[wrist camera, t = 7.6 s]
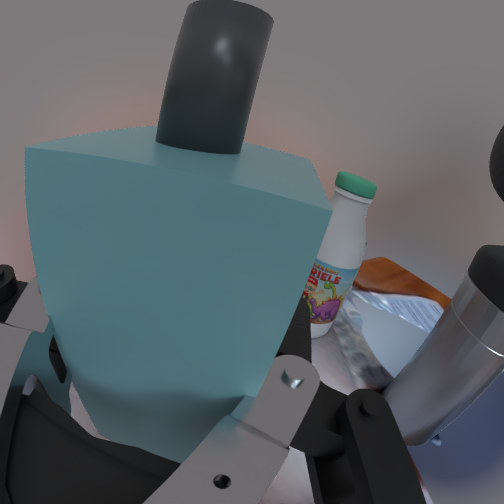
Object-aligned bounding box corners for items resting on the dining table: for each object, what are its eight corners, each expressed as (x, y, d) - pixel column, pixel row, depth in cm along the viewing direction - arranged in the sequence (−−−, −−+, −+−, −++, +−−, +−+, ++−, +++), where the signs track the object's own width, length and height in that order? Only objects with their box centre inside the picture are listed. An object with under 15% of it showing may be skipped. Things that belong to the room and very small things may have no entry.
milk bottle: (284, 295, 41) (329, 163, 32) (332, 315, 39) (387, 186, 30) (267, 324, 34) (320, 167, 25) (323, 348, 32) (394, 196, 23)
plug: (213, 477, 8) (388, -10, 2) (100, 434, 8) (59, -11, 2) (235, 389, 13) (335, 65, 6) (142, 358, 13) (171, 39, 6)
